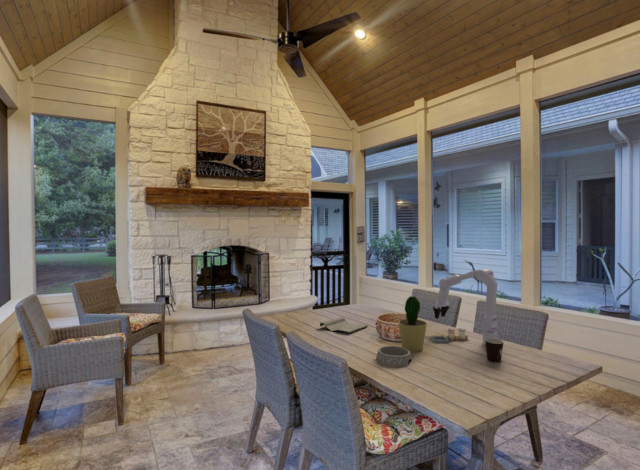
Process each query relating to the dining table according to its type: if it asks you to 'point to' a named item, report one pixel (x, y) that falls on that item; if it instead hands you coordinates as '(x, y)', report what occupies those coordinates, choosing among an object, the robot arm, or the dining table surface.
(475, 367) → the dining table surface
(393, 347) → the dog bowl
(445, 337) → the tray
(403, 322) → the potted cactus
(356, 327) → the mat
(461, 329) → the cylinder
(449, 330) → the cylinder
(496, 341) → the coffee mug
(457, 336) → the fuse holder
